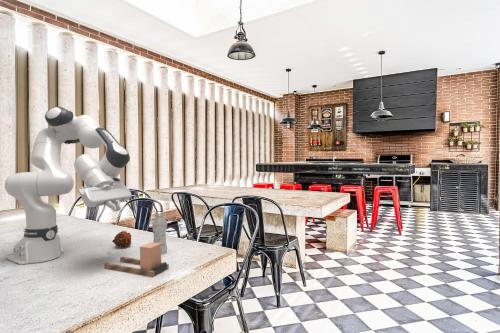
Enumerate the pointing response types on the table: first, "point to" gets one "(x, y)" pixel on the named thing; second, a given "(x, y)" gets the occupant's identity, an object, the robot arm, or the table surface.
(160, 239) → the plastic bottle
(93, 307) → the table surface
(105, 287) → the table surface
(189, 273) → the table surface
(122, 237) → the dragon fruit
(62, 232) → the table surface
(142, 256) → the block
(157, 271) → the chute
